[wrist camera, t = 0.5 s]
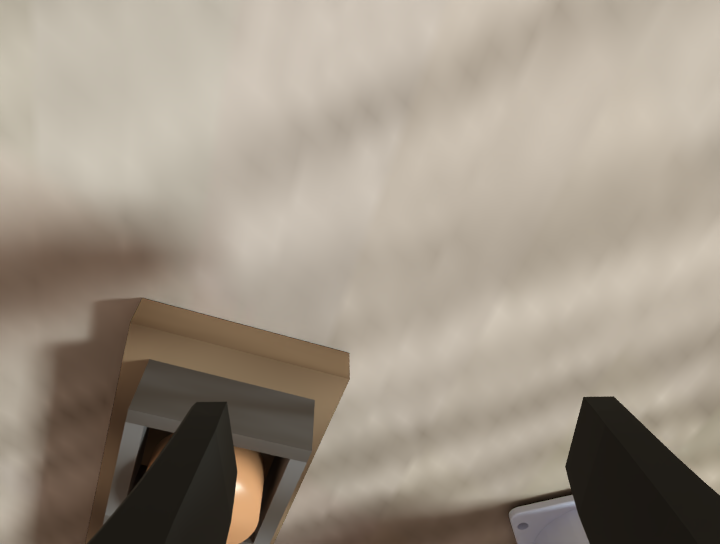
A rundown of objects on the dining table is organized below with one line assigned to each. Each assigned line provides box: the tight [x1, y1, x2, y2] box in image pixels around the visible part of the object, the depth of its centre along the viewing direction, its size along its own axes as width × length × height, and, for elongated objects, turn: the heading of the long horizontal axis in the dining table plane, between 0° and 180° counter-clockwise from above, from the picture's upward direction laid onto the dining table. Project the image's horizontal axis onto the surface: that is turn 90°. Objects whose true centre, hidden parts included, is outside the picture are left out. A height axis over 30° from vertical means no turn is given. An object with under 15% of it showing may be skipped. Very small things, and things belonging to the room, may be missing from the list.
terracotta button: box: [146, 433, 265, 544], centre depth 21 cm, size 4×4×2 cm
